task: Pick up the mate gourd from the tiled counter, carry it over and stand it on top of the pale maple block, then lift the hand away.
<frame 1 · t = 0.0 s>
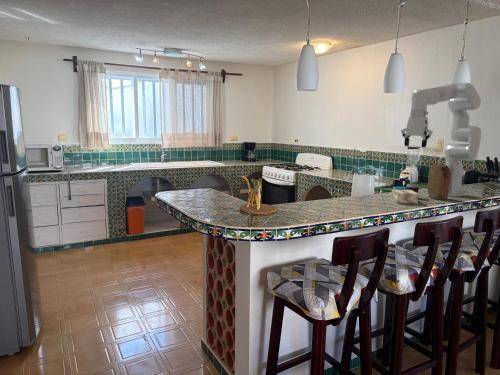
hand: (414, 146, 196), 31 cm above the worktop, tool pointing down, fingers open, 9 cm apart
block: (437, 198, 216), on the worktop
maple block: (403, 202, 206), on the worktop
mate gourd: (411, 197, 217), on the worktop
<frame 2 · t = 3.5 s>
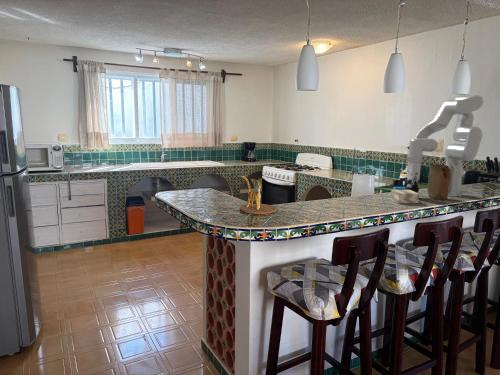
hand: (411, 189, 217), 5 cm above the worktop, tool pointing down, fingers closed on mate gourd, 7 cm apart
mate gourd: (411, 197, 217), on the worktop, touching gripper
everything else where it was.
when the fingers open (12 cm above the worktop, at t = 9.1 s): mate gourd drops 2 cm, resting on maple block.
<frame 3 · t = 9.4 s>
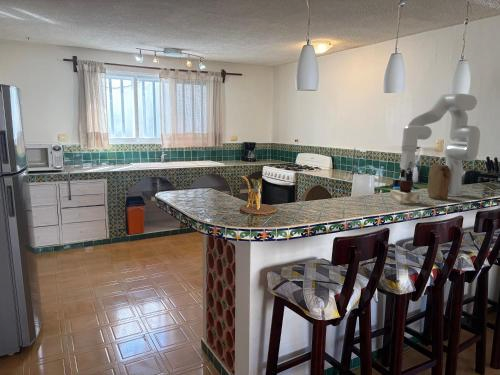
hand: (406, 179, 204), 13 cm above the worktop, tool pointing down, fingers open, 9 cm apart
maple block: (403, 202, 206), on the worktop, touching mate gourd
mate gourd: (405, 192, 205), point 5 cm above the worktop, touching maple block
everything else where it was.
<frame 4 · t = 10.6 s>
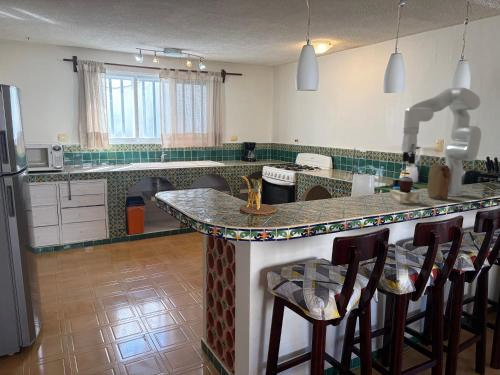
hand: (408, 162, 202), 22 cm above the worktop, tool pointing down, fingers open, 9 cm apart
nothing on the worktop moved.
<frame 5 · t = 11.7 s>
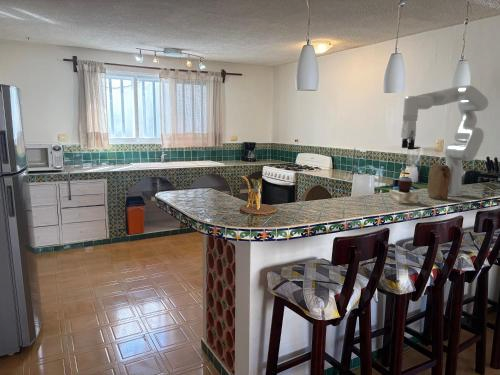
hand: (407, 148, 211), 29 cm above the worktop, tool pointing down, fingers open, 9 cm apart
nothing on the worktop moved.
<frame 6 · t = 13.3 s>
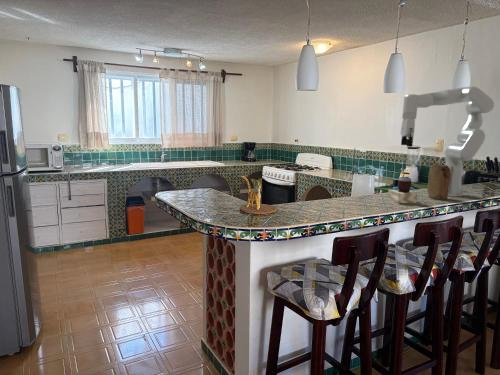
hand: (406, 145, 217), 30 cm above the worktop, tool pointing down, fingers open, 9 cm apart
maple block: (401, 202, 207), on the worktop
mate gourd: (403, 192, 205), point 5 cm above the worktop
everything else where it was.
at the end: mate gourd inside the target area on the maple block (0.9 cm from its centre), point 5.9 cm above the maple block's base; mate gourd tilted 1°; the gripper is holding nothing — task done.
